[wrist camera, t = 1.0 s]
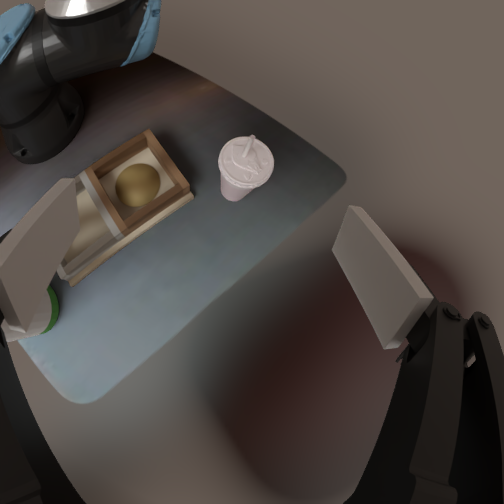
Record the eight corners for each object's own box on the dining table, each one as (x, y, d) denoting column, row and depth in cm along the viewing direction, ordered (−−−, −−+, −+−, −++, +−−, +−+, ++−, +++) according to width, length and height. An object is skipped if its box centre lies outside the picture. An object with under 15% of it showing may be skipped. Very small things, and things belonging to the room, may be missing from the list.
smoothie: (233, 161, 42) (255, 106, 28) (264, 191, 42) (299, 146, 29) (201, 187, 40) (210, 137, 27) (233, 219, 41) (257, 182, 27)
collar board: (38, 218, 34) (25, 211, 30) (150, 138, 40) (148, 124, 36) (73, 286, 34) (62, 285, 30) (193, 198, 40) (194, 188, 36)
